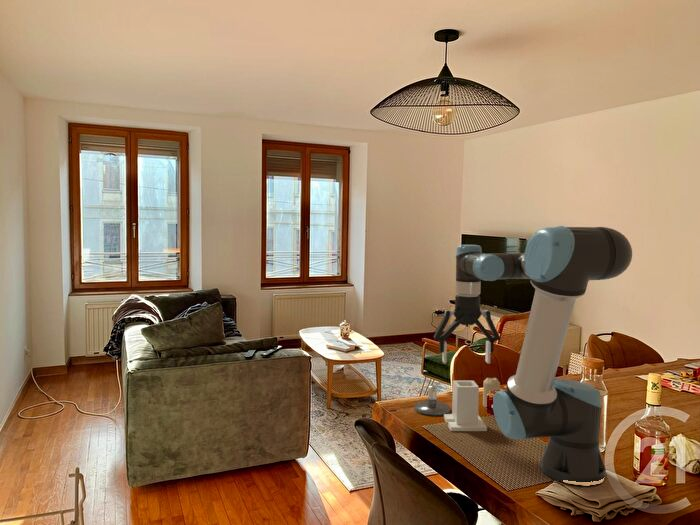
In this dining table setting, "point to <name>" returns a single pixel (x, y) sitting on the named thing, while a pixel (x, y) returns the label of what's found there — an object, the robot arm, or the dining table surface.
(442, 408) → the post base
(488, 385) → the candle
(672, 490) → the dining table surface
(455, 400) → the flange
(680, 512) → the dining table surface
